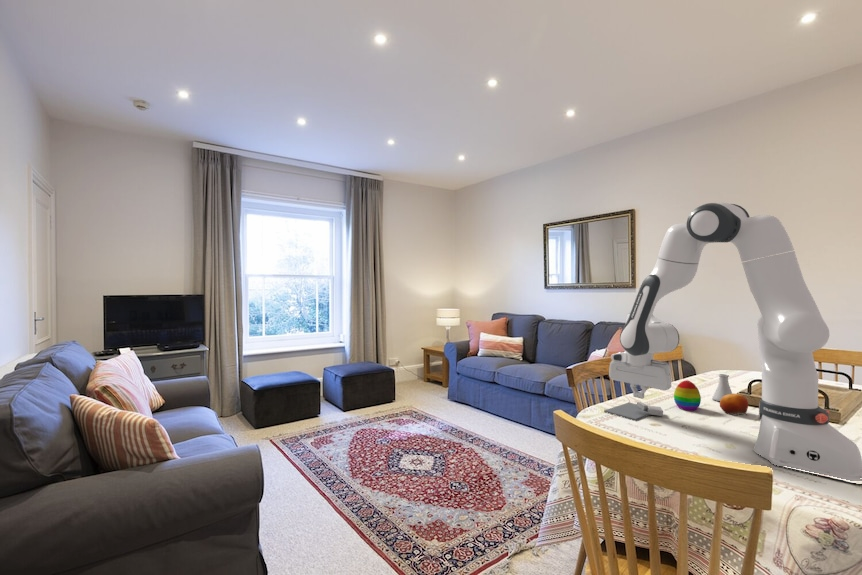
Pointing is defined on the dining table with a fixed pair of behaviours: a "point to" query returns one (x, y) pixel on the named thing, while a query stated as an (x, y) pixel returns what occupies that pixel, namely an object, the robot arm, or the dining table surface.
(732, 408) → the fruit
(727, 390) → the flask
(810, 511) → the dining table surface
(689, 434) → the dining table surface
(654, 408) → the lighter
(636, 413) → the mat
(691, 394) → the decorative egg
